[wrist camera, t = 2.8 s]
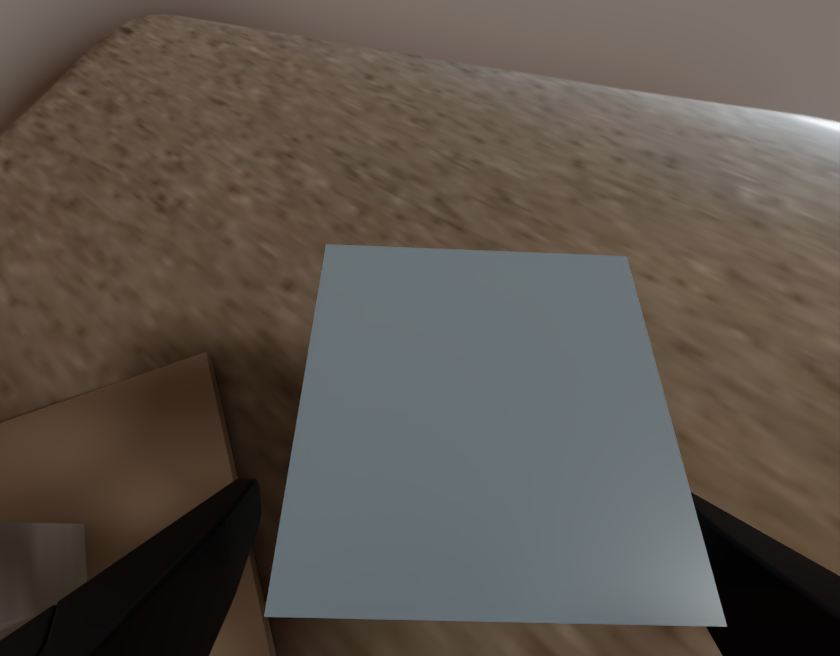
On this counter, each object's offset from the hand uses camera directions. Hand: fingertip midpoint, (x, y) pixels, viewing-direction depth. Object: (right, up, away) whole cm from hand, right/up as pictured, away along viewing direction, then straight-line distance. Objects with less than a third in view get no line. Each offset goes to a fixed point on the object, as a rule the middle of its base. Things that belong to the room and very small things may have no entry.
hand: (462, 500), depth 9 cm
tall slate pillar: (0, -3, +9) cm, 9 cm away
